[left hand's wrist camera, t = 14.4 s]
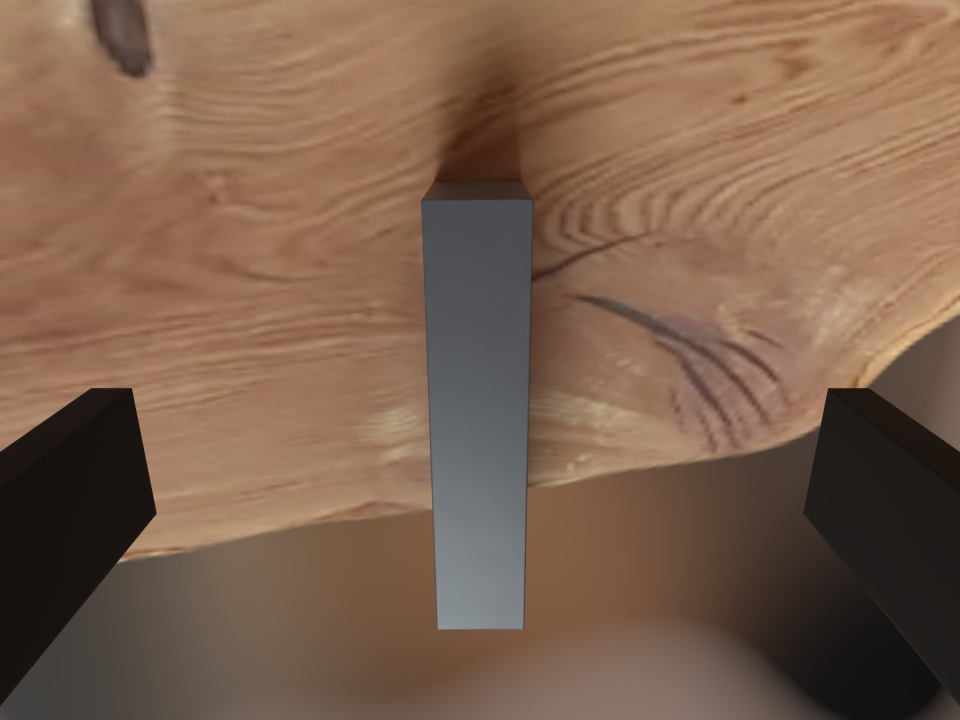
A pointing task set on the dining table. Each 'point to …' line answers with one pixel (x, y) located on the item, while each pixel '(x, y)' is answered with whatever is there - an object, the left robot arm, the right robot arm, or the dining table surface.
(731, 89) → the dining table surface
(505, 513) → the bar
